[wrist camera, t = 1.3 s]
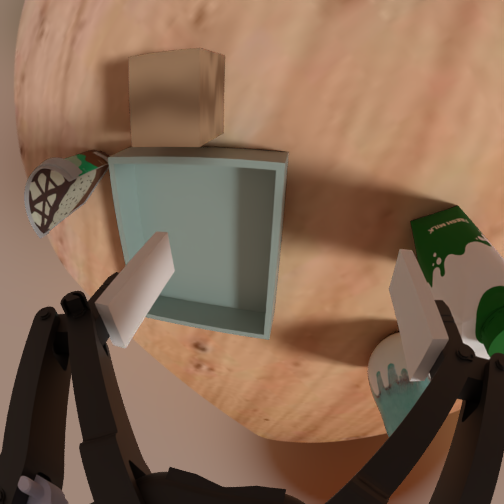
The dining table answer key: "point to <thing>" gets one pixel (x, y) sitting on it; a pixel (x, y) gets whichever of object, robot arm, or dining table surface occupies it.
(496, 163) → the dining table surface
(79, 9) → the dining table surface
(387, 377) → the vase
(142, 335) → the dining table surface
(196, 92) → the walnut block
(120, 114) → the dining table surface
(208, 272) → the tote
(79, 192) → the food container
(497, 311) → the milk carton
